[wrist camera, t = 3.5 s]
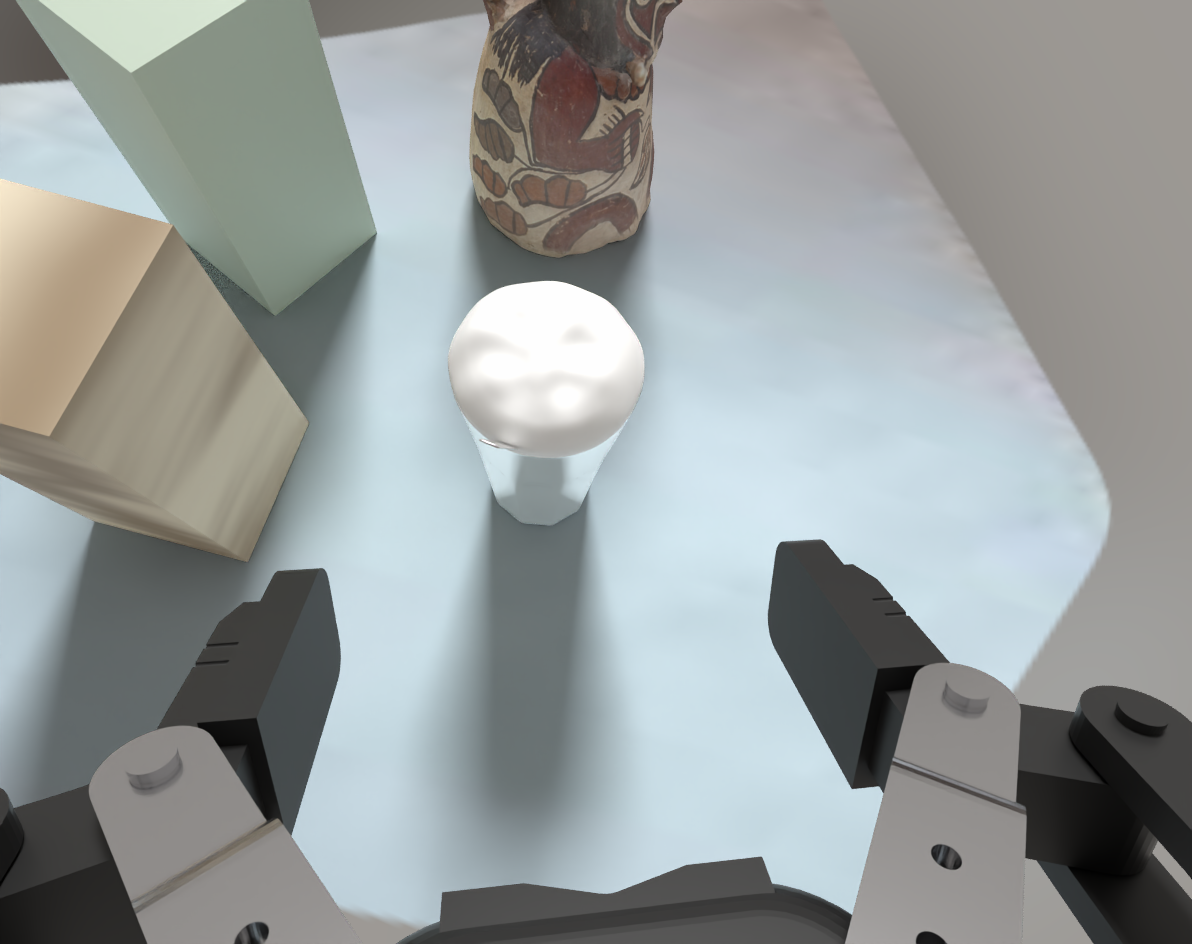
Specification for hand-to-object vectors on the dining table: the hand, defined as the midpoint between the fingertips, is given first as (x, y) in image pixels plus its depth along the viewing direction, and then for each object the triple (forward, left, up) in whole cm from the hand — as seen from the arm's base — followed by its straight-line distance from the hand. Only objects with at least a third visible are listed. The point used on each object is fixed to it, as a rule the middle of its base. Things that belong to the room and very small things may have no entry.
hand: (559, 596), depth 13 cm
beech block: (-13, +1, -10) cm, 16 cm away
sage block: (-16, +10, -10) cm, 21 cm away
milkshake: (-3, +5, -10) cm, 12 cm away
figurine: (-7, +17, -10) cm, 21 cm away
